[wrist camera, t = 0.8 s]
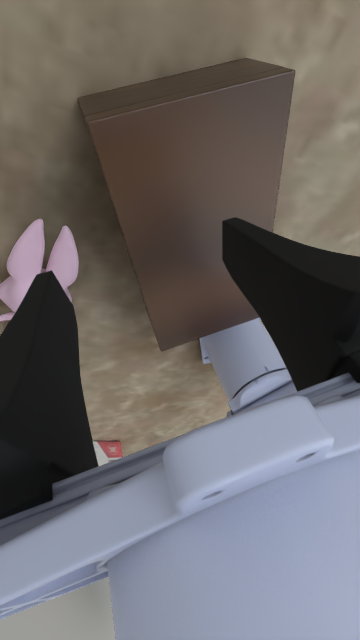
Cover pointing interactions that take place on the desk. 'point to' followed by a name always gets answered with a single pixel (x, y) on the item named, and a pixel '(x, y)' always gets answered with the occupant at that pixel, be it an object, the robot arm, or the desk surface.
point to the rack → (191, 183)
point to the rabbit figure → (37, 264)
